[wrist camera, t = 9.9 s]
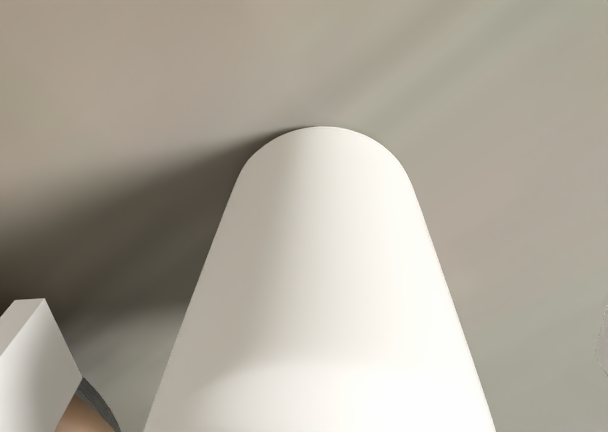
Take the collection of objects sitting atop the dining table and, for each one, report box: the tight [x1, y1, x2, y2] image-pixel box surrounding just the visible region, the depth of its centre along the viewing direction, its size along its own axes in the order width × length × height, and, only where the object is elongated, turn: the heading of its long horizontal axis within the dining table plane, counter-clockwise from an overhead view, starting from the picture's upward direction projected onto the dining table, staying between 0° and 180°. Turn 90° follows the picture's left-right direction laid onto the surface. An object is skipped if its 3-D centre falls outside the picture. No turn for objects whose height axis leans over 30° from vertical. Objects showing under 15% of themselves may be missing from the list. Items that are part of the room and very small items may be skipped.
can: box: [143, 127, 496, 432], centre depth 13 cm, size 6×6×12 cm
